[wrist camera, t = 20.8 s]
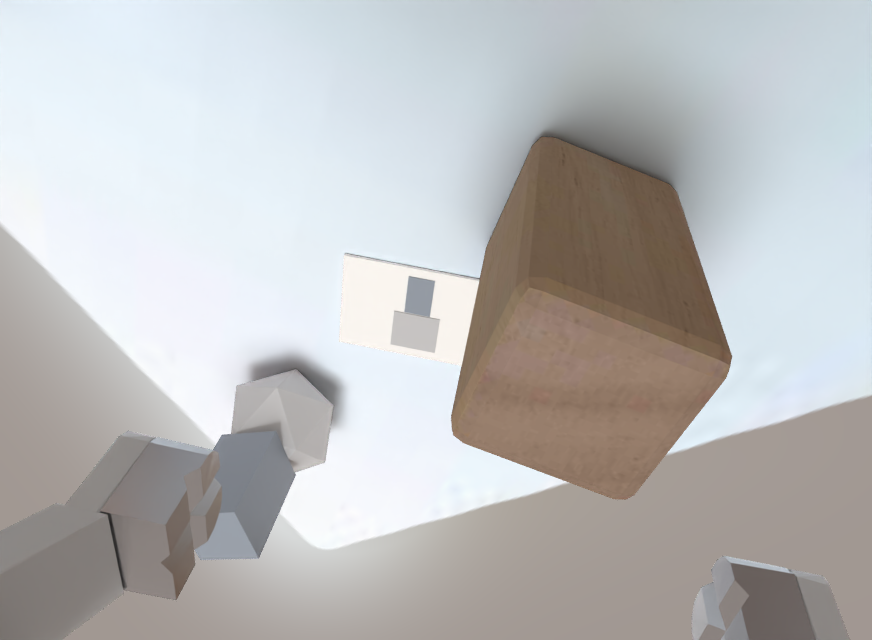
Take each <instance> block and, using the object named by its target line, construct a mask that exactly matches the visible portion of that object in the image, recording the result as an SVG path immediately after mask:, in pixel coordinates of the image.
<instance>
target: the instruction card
mask: <svg viewBox="0 0 872 640" xmlns="http://www.w3.org/2000/svg"><path fill="white" fill-rule="evenodd" d="M479 280H480V279H477V278H471V277H466V276H461V275H456V274H450V273H445V272H440V271H434V270H429V269H424V268H419V267H413V266H408V265H403V264H398V263H392V262H387V261H382V260H377V259H371V258H366V257H361V256H356V255H350V254H345V255H344V266H343V283H342V300H341V317H340V334H339V342H344V343H349V344H354V345H359V346H364V347H369V348H374V349H379V350H384V351H390V352H395V353H400V354H405V355H410V356H415V357H420V358H425V359H430V360H435V361H440V362H445V363H450V364H455V365H460V366H462V362H463V357H464V352H465V348H466V343H467V338H468V333H469V328H470V323H471V319H472V314H473V309H474V304H475V299H476V295H477V290H478V285H479Z"/></svg>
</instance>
